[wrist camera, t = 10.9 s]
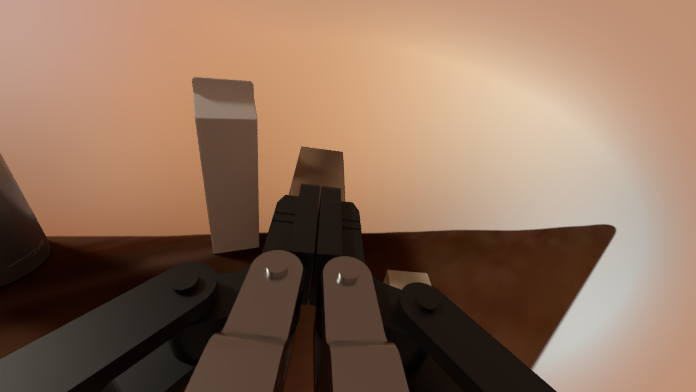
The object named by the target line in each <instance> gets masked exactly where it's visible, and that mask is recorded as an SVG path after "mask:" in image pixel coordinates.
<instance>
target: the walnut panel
mask: <svg viewBox="0 0 696 392" xmlns="http://www.w3.org/2000/svg"><path fill="white" fill-rule="evenodd" d="M301 183H302V184H310V185H318V186H320V195H319V203H320V196H321V188H322V186H327V187H335V188H341V201H344V202H345V186H344V163H343V152H339V151H331V150H324V149H316V148H309V147H301V150H300V154H299V158H298V162H297V165H296V169H295V173H294V177H293V180H292V184H291V188H290V192H289V195H291V196H299V192H300V187H301ZM318 210H319V206H318ZM317 218H318V217H317ZM312 269H313V266H312ZM311 280H312V274H311ZM310 291H311V281H310V288H309V294H310Z"/></svg>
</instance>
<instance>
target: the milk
mask: <svg viewBox="0 0 696 392" xmlns="http://www.w3.org/2000/svg"><path fill="white" fill-rule="evenodd" d="M192 84H193V92H194V109H195V122H196V129H197V136H198V144H199V151H200V158H201V166H202V173H203V180H204V187H205V196H206V202H207V210H208V218H209V225H210V232H211V240H212V247H213V253H214V254H217V253H224V252H230V251H237V250H244V249H251V248H257V247H259V213H258V212H259V210H258V208H259V207H258V147H257V146H258V143H257V114H256V108H255V102H254V90H253V83H252V82H251V81H241V80H228V79H214V78H201V77H194V78H193V79H192Z"/></svg>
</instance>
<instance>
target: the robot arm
mask: <svg viewBox="0 0 696 392" xmlns="http://www.w3.org/2000/svg"><path fill="white" fill-rule="evenodd" d="M319 195H320V186H318V185H310V184H302V183H301V187H300V192H299V196H291V195H285V196H284V197H283V198H281V199H280V200H279V202H277V205H276V208H275V213H274V215H273V218H272V222H271V225H270V228H269V232H268V235H267V238H266V242H265V245H264V248H263V252H262V254H261V255H260V256H258V257H257V258H256V259H255V260H254V261H253V263H252V264H251V266H249V267H247V268H245V269H242V270H239V271H235V272H229V273H224V274H218V275H216V273H215V271H214V270H213V269H212V268H211V267H210V266H208V265H205V264H202V263H185V264H181V265H178V266H175V267H173V268H171V269H169V270H167V271H165V272H163V273H161V274H159V275H158V276H156V277H154V278H152V279H150V280H148V281H146V282H144V283H143V284H141V285H139V286H137V287H135V288H133V289H131V290H129V291H128V292H126V293H124V294H122V295H120V296H118V297H116V298H114V299H113V300H111V301H109V302H107V303H105V304H103V305H101V306H99V307H98V308H96V309H94V310H92V311H90V312H88V313H86V314H84V315H83V316H81V317H79V318H77V319H75V320H73V321H71V322H69V323H68V324H66V325H64V326H62V327H60V328H58V329H56V330H54V331H53V332H51V333H49V334H47V335H45V336H43V337H41V338H39V339H38V340H36V341H34V342H32V343H30V344H28V345H26V346H24V347H23V348H21V349H19V350H17V351H15V352H13V353H11V354H9V355H8V356H6V357H4V358H2V359H0V392H179V391H180V390H181V389H183V388H184V387H185V386H186V385H187V384H188V385H187V388H186V390H185V392H283V391H284V386H285V381H286V376H287V371H288V366H289V361H290V356H291V352H292V347H293V342H294V337H295V332H296V326H297V325H298V322H299V319H300V310H301V305H307V302H308V295H309V288H310V281H311V291H310V302H309V305H315V306H316V313H315V322H314V328H313V361H314V392H556V391H555V390H554V389H553V388H552V387H551V386H549V385H548V384H547V383H546V382H545V381H544V380H542V379H541V378H540V377H539V376H538V375H537V374H535V373H534V372H533V371H532V370H531V369H530V368H528V367H527V366H526V365H525V364H524V363H523V362H522V361H520V360H519V359H518V358H517V357H516V356H515V355H513V354H512V353H511V352H510V351H509V350H508V349H506V348H505V347H504V346H503V345H502V344H501V343H499V342H498V341H497V340H496V339H495V338H494V337H492V336H491V335H490V334H489V333H488V332H487V331H485V330H484V329H483V328H482V327H481V326H480V325H478V324H477V323H476V322H475V321H474V320H473V319H471V318H470V317H469V316H468V315H467V314H466V313H464V312H463V311H462V310H461V309H460V308H459V307H457V306H456V305H455V304H454V303H453V302H452V301H450V300H449V299H448V298H447V297H446V296H445V295H443V294H442V293H441V292H440V291H439V290H437V289H436V288H434V287H433V286H430V285H428V284H425V283H420V282H414V283H410V284H407V285H406V286H405V287H403V289H402V290H401V289H399V288H396V287H393V286H390V285H388V284H385V283H383V282H381V281H379V280H378V279H376V278H375V277H374V276H373V275H372V274H371V272H370V270H369V268H368V267H367V266H366V265H365V260H364V251H363V242H362V233H361V224H360V215H359V211H358V209H357V208H356V206H355V205H354V204H353V203H352V202H344V201H341V188H335V187H327V186H322V188H321V196H320V203H319ZM318 206H319V210H318ZM317 217H318V218H317ZM50 251H51V245H50V243H49V241H48V239H47V237H46V235H45V233H44V232H43V230H42V228H41V226H40V224H39V223H38V221H37V219H36V217H35V215H34V213H33V211H32V210H31V208H30V206H29V204H28V202H27V201H26V199H25V197H24V195H23V193H22V192H21V190H20V188H19V186H18V185H17V182H16V181H15V179H14V177H13V175H12V173H11V172H10V170H9V168H8V167H7V164H6V163H5V161H4V159H3V157H2V155H1V154H0V287H2V286H5V285H8V284H10V283H12V282H14V281H16V280H18V279H20V278H22V277H24V276H26V275H27V274H29V273H31V272H32V271H33V270H35V269H36V268H37V267H39V266H40V265H41V264H42V263H43V262H44V261H45V260H46V259H47V257H48V256H49V254H50ZM312 266H313V269H312ZM311 274H312V280H311Z"/></svg>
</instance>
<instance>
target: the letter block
mask: <svg viewBox="0 0 696 392" xmlns="http://www.w3.org/2000/svg"><path fill="white" fill-rule="evenodd" d="M414 282H420V283H425V284H428V285H430V286H431V283H430V280H429V277H428V274H427V273H418V272H407V271H396V270H387V273H386V276H385V279H384V282H383V283H385V284H388V285H390V286H393V287H396V288H399V289H401V290H402V289H403V287H405V286H406V285H407V284H410V283H414Z"/></svg>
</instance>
